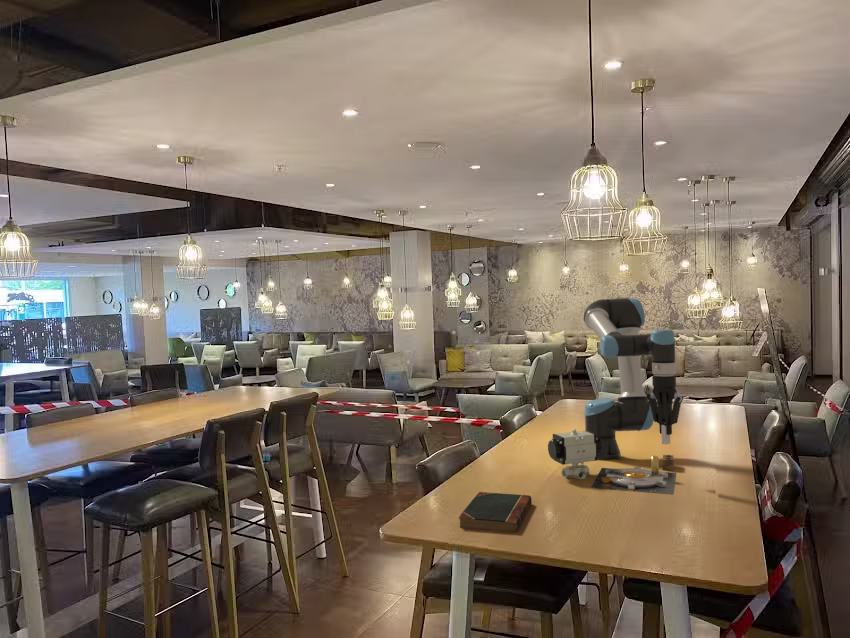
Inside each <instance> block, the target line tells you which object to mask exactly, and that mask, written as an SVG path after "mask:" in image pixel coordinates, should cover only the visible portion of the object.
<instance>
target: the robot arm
mask: <svg viewBox="0 0 850 638" xmlns="http://www.w3.org/2000/svg"><path fill="white" fill-rule="evenodd" d="M645 318H646V315H645V309H644V307H643V304H642V303H641V301H640V300H639V299H637V298H635V297H634V298H631V297H630V298H629V297H624V298H607V299H605V298H603V299H597V300H596V301H595V300H594V301H593V302H592V303H590V304H589V305H588V306H587V307H586V308H585V310H584V312H583V321H584V325H586V327H587V328H588V329H589V330H591V331H593V333H594V334H595V335H596V336H597V338H598V339H599V340H600V341H599V350H600V354H601V355H602V356H603V357H605V358H617V362H618V372H619V373H618V374H619V384H620V386H619V387H620V395H618V396H617V401H615V399H614V398H611V397H609V398H608V397H607V398H606V397H604V398H596V399H592V400H589V401H587V402H586V403H585V405H584V413H583V414H584V425H585V427H584V428H585V430H584V431H589V432H591V433H594V434H596V436H598V437H599V439H600V441H601V445H602V450H601V452H600V454H598V457H597V461H609V460H611V461H612V460H613V461H619V460H620V459H621V458H622V457H621V454H622V453H621V450H620V447H619V445H618V442H617V439H616V438H617V437H616V432H631V431H632V432H635V431H637V432H640V431H647V430H648V431H649V430H650V429H651V428H652V426H653V424H654V423H658V424H659V425H658V426H659V434H660V435H661V445H670V444H671V435H672V434H673V425H675V424H677V423H678V422H679V421H678V419H679V416H680V410H681V405H682V402H683V401H684V398H685V397H684V396H681V395H680V394H678V392H677V390H676V387H677V376H676V375H675V374H677V373H676V346H675V343H676V339H675V332H674V330H672V329H653V330H652V331H651V332H650V333H647V334H646V333H645V334H639V333H640V331H641V330H642V326H644V325H645V322H646V321H645ZM642 356H644V357H645V356H651V374H653V375H652V376H651V379H652V382H651V383H652V386H653V388H652V391H651V392H650V393H647V394H646V393H645V392H644V387H643V377H642V368H641V367H642V366H641V365H642V364H641V358H640V357H642Z"/></svg>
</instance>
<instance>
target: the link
mask: <svg viewBox="0 0 850 638" xmlns="http://www.w3.org/2000/svg"><path fill="white" fill-rule="evenodd" d="M661 459H662V460H661V461H662V471H666V472H668V471H669V472H673V471H674V466H675V464H674V463H675V462H674V455H671V454H662V458H661Z"/></svg>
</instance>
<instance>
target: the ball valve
mask: <svg viewBox="0 0 850 638" xmlns="http://www.w3.org/2000/svg"><path fill="white" fill-rule="evenodd" d="M547 444H548V445H547V451H548V455H549V457H550V458H551V459H552V460H553V461H555V462H557V463H558V464H561V465H566V466H565V467H562V469H561V475H562V477H563V478H565V479H567V478H569V479H572V478H573V479H577V480H584V479H586V478H587V476H589V475H590V468H589V466H588V465H587V464H586V465H584V463H589V462H595V461H598V460H597V457H598V454H600V452H601V450H602V445H601V441H600V439H599V437H598V436H596V434H594V433H591V432H589V431H585V430H580V431H578V430H577V429H576V428H572V430H571V431H569V432H560V433H552V438H551V440H549V441H548V443H547Z"/></svg>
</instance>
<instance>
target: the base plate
mask: <svg viewBox="0 0 850 638" xmlns="http://www.w3.org/2000/svg"><path fill="white" fill-rule="evenodd" d="M605 469H612V468H611V467H610V468H609V467H601V468H600V470H599V472H598V474H597V475H596V477H595V479H594V481H593V483H592V484H591V487H590V489H595V490H596V489H599V490H609V491H622V492H636V493H648V494H649V493H650V494H658V495H659V494H660V495H671V496H673V495H674V493H675V492H674V491H675V485H676V478H677V472H672V471H669V472H668V471H665V472H666V473H667V474H668V478H663V481H666V486H665V487H659V486H654V487H645V488H635V489H634V490H633V489H628V487H625V486H620V485H616V484H613V483H611V482H609V483H603V482H602V481H601V477H607V474H606V473H605ZM613 469H614V470H615V469H616V468H613ZM661 472H662V471H659V473H661Z"/></svg>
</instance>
